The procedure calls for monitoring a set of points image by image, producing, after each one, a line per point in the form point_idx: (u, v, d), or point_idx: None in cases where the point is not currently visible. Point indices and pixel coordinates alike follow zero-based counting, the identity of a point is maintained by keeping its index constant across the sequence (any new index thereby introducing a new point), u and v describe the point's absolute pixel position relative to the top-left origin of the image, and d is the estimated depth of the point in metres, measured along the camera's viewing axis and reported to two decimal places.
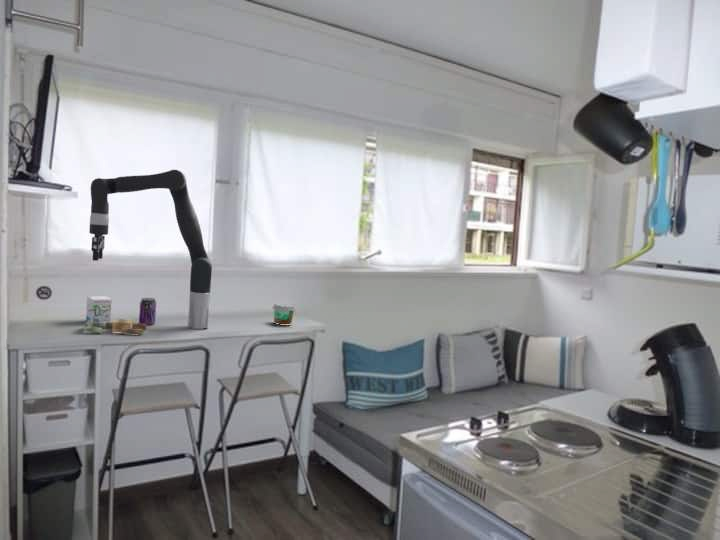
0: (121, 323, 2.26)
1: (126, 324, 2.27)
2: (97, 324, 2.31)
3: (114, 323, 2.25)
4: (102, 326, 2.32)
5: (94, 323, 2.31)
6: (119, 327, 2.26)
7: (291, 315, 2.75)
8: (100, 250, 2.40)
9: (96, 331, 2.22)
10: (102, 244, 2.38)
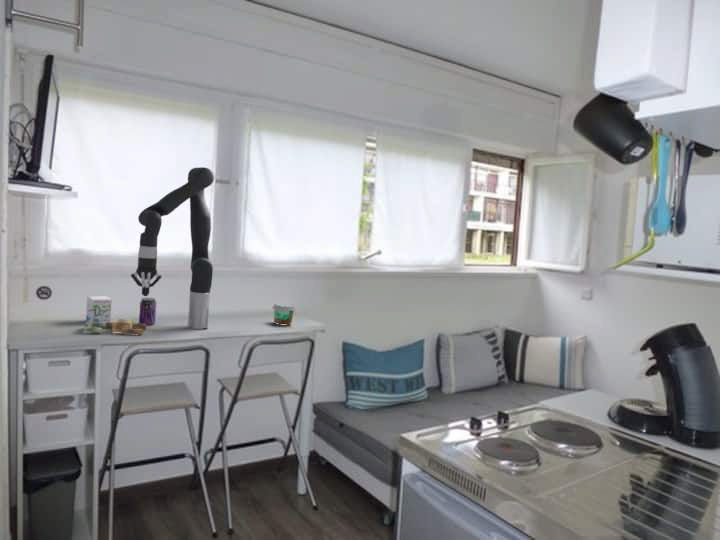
0: (121, 323, 2.26)
1: (126, 324, 2.27)
2: (97, 324, 2.31)
3: (114, 323, 2.25)
4: (102, 326, 2.32)
5: (94, 323, 2.31)
6: (119, 327, 2.26)
7: (291, 315, 2.75)
8: (145, 287, 2.31)
9: (96, 331, 2.22)
10: None
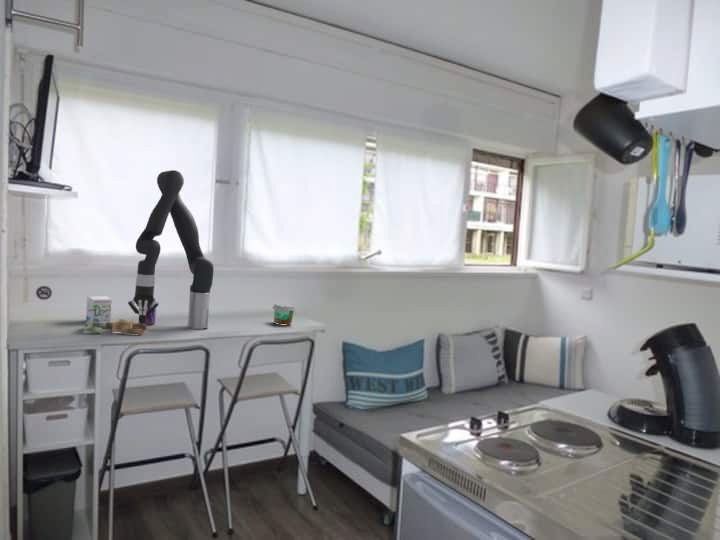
0: (121, 323, 2.26)
1: (126, 324, 2.27)
2: (97, 324, 2.31)
3: (114, 323, 2.25)
4: (102, 326, 2.32)
5: (94, 323, 2.31)
6: (119, 327, 2.26)
7: (291, 315, 2.75)
8: (142, 314, 2.32)
9: (96, 331, 2.22)
10: None
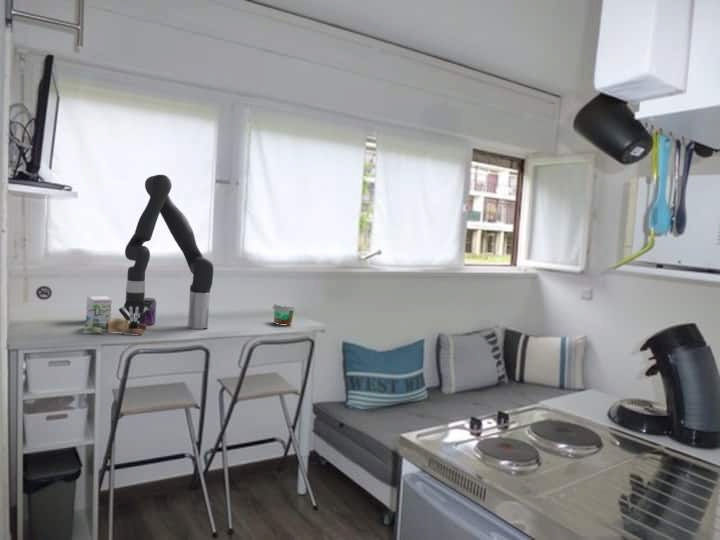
0: (117, 322, 2.26)
1: (122, 323, 2.26)
2: (97, 324, 2.31)
3: (110, 322, 2.25)
4: (102, 326, 2.32)
5: (94, 323, 2.31)
6: (115, 327, 2.26)
7: (291, 315, 2.75)
8: None
9: (96, 331, 2.22)
10: None
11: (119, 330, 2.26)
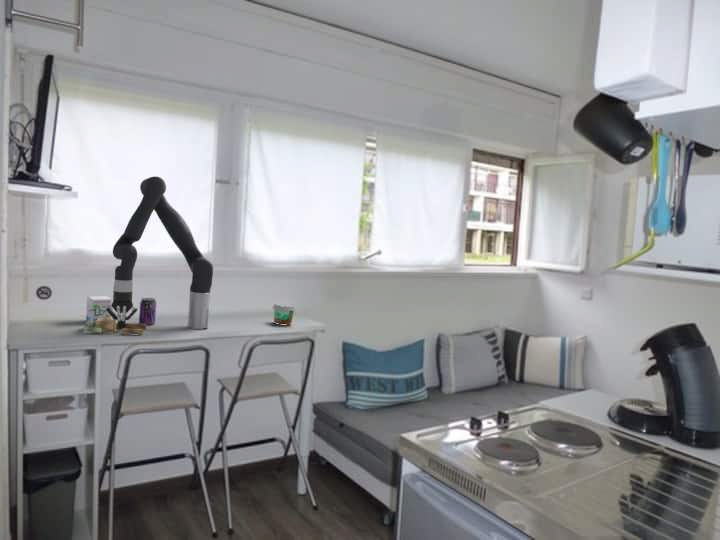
0: (104, 322, 2.25)
1: (109, 323, 2.25)
2: None
3: (97, 322, 2.24)
4: None
5: (94, 323, 2.31)
6: (103, 326, 2.25)
7: (291, 315, 2.75)
8: (121, 320, 2.29)
9: (96, 331, 2.22)
10: None
11: (106, 329, 2.25)
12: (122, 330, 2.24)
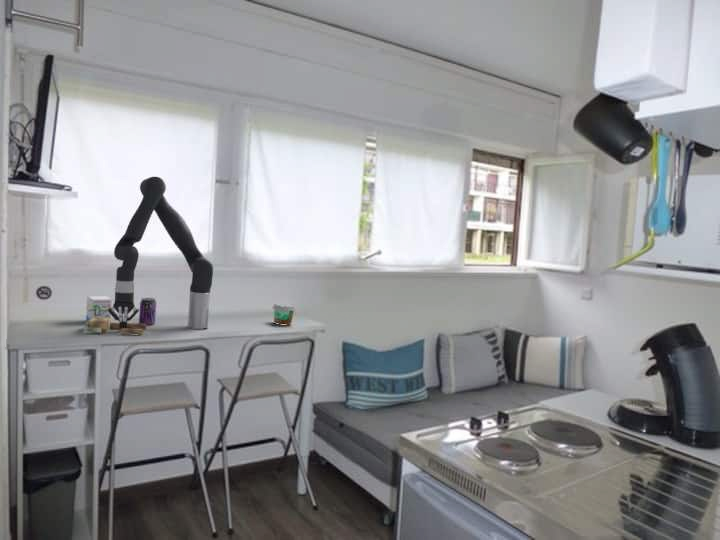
0: (98, 322, 2.24)
1: (103, 323, 2.25)
2: None
3: (91, 322, 2.23)
4: None
5: None
6: (96, 326, 2.24)
7: (291, 315, 2.75)
8: (123, 321, 2.30)
9: (96, 331, 2.22)
10: None
11: None
12: (122, 330, 2.24)
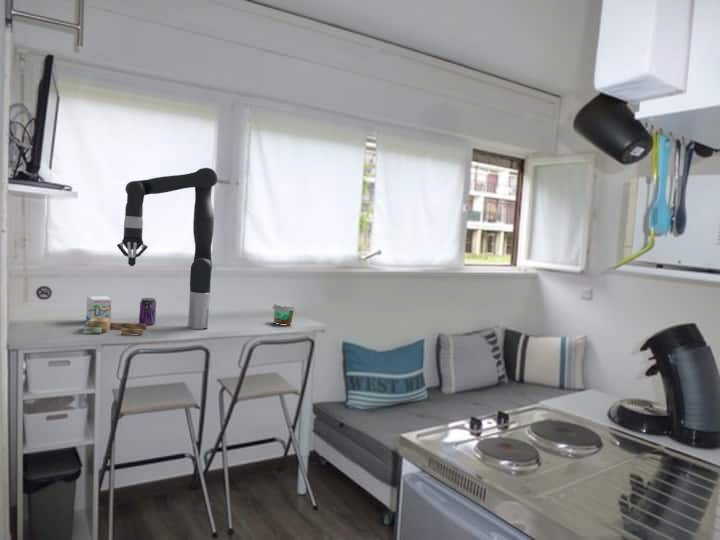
0: (98, 322, 2.24)
1: (103, 323, 2.25)
2: None
3: (91, 322, 2.23)
4: None
5: None
6: (96, 326, 2.24)
7: (291, 315, 2.75)
8: None
9: (96, 331, 2.22)
10: None
11: None
12: (122, 330, 2.24)
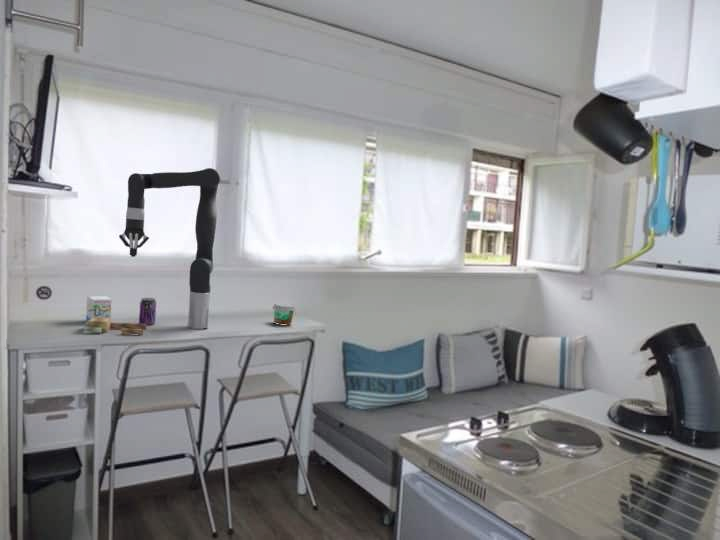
0: (98, 322, 2.24)
1: (103, 323, 2.25)
2: None
3: (91, 322, 2.23)
4: None
5: None
6: (96, 326, 2.24)
7: (291, 315, 2.75)
8: (133, 248, 2.38)
9: (96, 331, 2.22)
10: None
11: None
12: (122, 330, 2.24)
